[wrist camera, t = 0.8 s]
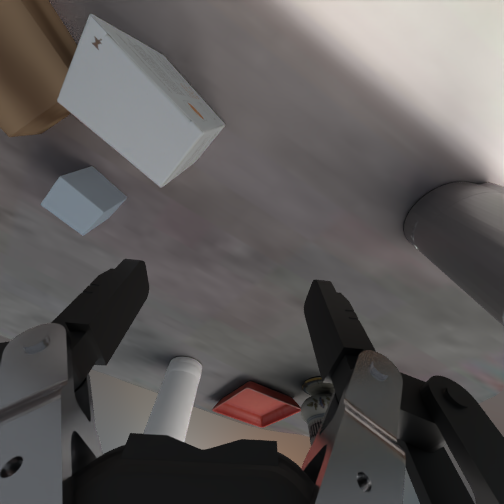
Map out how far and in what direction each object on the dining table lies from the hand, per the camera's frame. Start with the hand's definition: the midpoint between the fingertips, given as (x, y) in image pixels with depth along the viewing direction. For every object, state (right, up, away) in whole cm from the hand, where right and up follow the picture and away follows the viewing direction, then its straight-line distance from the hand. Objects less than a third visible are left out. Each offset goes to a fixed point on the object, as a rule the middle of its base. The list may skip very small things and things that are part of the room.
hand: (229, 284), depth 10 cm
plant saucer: (+2, -40, +49) cm, 63 cm away
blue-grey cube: (-19, +9, +17) cm, 27 cm away
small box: (-6, +16, +12) cm, 21 cm away
